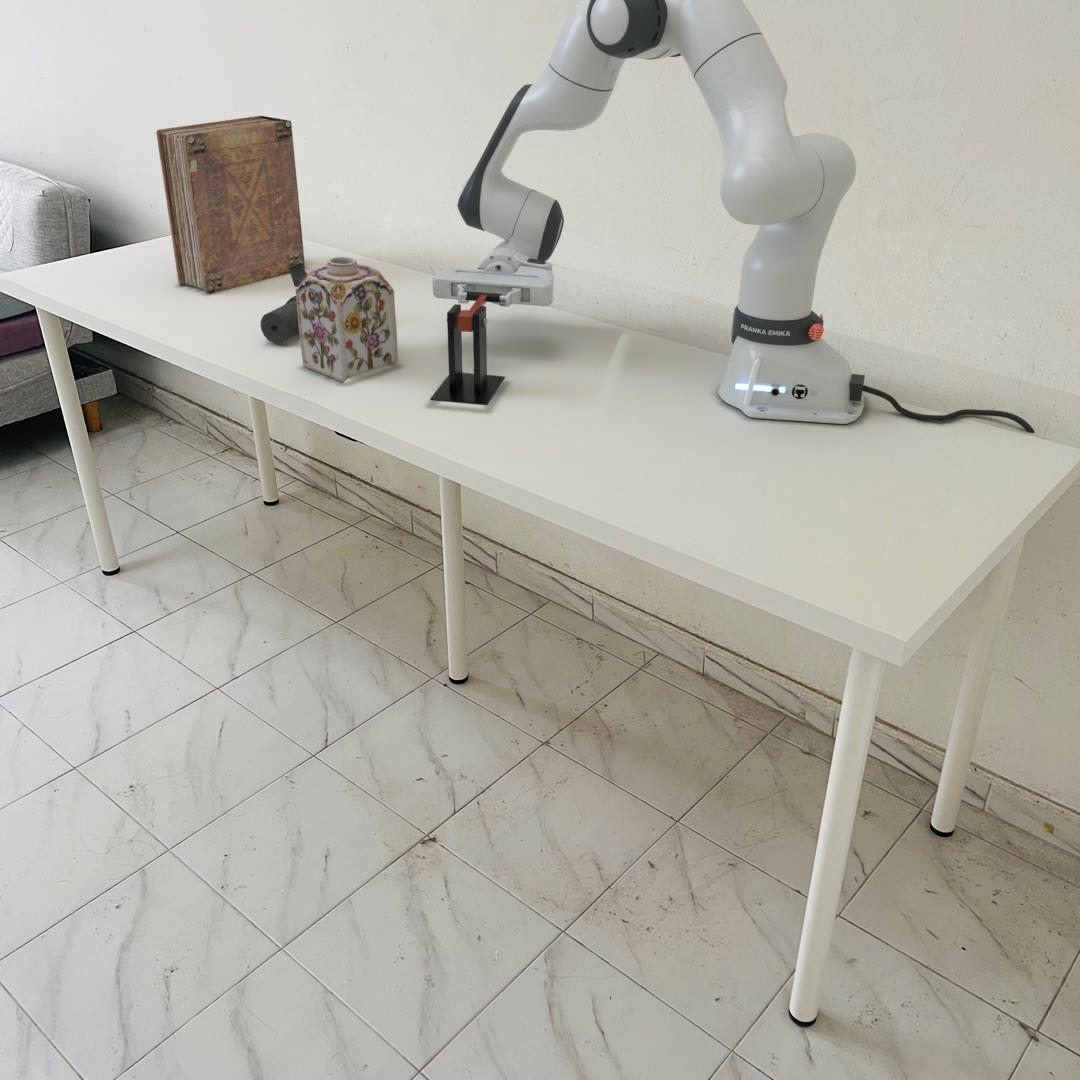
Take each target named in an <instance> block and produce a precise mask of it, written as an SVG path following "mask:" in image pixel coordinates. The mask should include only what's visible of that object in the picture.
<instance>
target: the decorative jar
mask: <svg viewBox="0 0 1080 1080" xmlns="http://www.w3.org/2000/svg"><path fill="white" fill-rule="evenodd" d="M326 264H327V265H324V266H320V267H317V268H314V269H311V270H310V271H309V273H307V276H306V277H305V278H304V279H303V280H302V282H301V283H300V284H299V286H298V287H296V289H295V296H296V300H297V311H298V323H299V334H298V335H299V343H300V349H301V350H300V352H301V359H302V365H303V367H304V368H307V369H309V370H311V371H313V372H316V373H319V374H320V375H323V376H325V377H329V378H331V379H333V380H336V381H338V382H341V383H345V382H346V381H347V380H348V379H349V378H350V377H353V376H356V375H359V374H362V373H365V372H369V371H372V370H374V369H379V368H382V367H383V366H386V365H390V364H394V363H398V362H399V354H398V353H399V352H398V351H399V350H398V333H397V332H398V331H397V316H396V304H395V303H396V302H395V301H396V300H395V290H394V288H393V286H392V285H390V283H389V281H387V280H386V278H385V276H383V274H382V273H381V271H380V270H378V269H376V268H374V267H371V266H367V265H365V264H358V261H357V259H356V258H354V257H349V256H335V257H332V258H329V259H327V263H326Z"/></svg>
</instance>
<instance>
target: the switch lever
mask: <svg viewBox="0 0 1080 1080" xmlns="http://www.w3.org/2000/svg"><path fill="white" fill-rule="evenodd" d="M500 295H501V294H498V293H484V292H470V291H468V293H467V300H469V302H474V303H473V304H472V305H471V308H469V310H468V309H461V312H460V313H459V315H458V316H457V318H458V331H462V332H463V333H464V332H465V333H473V314H474V313H475V311H476V310H477V309H478V308H479V307H480V306H485V305H486V303H491V302H496V303H500Z"/></svg>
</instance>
